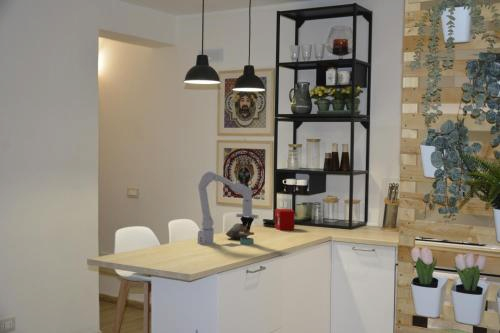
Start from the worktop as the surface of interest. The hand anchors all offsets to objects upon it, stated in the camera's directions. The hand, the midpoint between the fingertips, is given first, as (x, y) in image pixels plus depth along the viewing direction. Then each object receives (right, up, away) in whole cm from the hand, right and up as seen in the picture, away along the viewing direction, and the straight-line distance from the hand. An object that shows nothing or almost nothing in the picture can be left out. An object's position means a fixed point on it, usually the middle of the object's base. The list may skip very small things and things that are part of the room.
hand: (247, 229), depth 375 cm
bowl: (0, -9, 0) cm, 9 cm away
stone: (-6, -9, +20) cm, 23 cm away
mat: (-9, -9, -6) cm, 14 cm away
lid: (0, -3, 0) cm, 3 cm away
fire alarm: (+27, -8, +77) cm, 82 cm away
